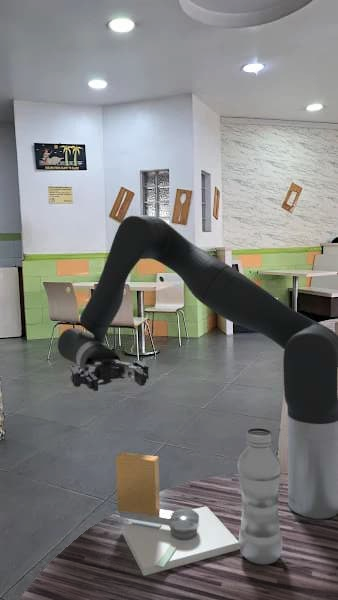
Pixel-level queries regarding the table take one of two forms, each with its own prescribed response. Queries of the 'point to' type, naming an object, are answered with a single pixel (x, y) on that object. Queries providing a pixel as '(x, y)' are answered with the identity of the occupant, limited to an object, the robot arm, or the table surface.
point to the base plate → (177, 542)
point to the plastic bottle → (259, 499)
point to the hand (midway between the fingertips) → (120, 382)
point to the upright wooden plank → (147, 494)
